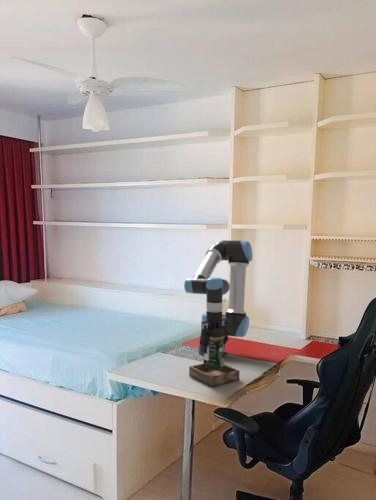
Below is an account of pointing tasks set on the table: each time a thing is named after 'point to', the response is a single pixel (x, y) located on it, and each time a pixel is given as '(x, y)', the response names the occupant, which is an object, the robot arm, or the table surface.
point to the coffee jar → (215, 348)
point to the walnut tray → (214, 374)
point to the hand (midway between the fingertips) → (214, 358)
